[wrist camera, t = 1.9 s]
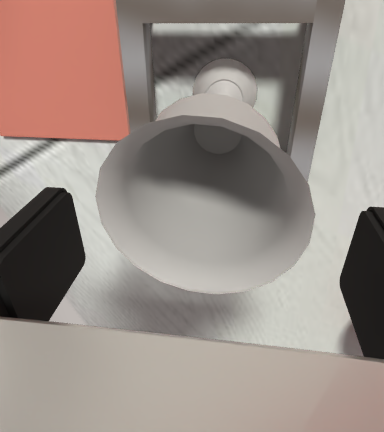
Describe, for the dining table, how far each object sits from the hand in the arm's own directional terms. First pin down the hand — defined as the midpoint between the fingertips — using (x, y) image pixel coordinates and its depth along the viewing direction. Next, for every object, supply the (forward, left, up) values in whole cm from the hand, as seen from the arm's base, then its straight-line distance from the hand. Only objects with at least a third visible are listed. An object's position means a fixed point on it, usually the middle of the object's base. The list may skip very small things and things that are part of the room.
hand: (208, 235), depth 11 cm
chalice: (0, 0, -19) cm, 19 cm away
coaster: (-2, -14, -18) cm, 23 cm away
